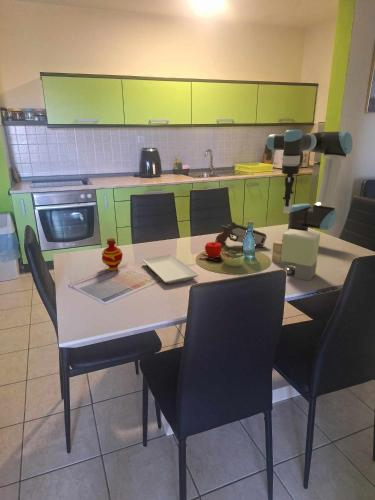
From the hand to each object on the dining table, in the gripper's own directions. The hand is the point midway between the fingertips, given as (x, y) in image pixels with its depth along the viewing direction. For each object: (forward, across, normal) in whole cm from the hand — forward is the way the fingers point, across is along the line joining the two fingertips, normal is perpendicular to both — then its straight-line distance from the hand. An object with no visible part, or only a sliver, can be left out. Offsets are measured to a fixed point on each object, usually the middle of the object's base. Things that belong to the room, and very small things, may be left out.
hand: (287, 209), depth 166 cm
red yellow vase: (+27, +33, -79) cm, 90 cm away
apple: (+28, +2, -36) cm, 46 cm away
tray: (+27, +29, -51) cm, 65 cm away
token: (+28, +12, +4) cm, 31 cm away
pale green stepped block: (+28, +13, +7) cm, 31 cm away
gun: (+28, -22, -26) cm, 45 cm away
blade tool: (+28, -1, +2) cm, 28 cm away
